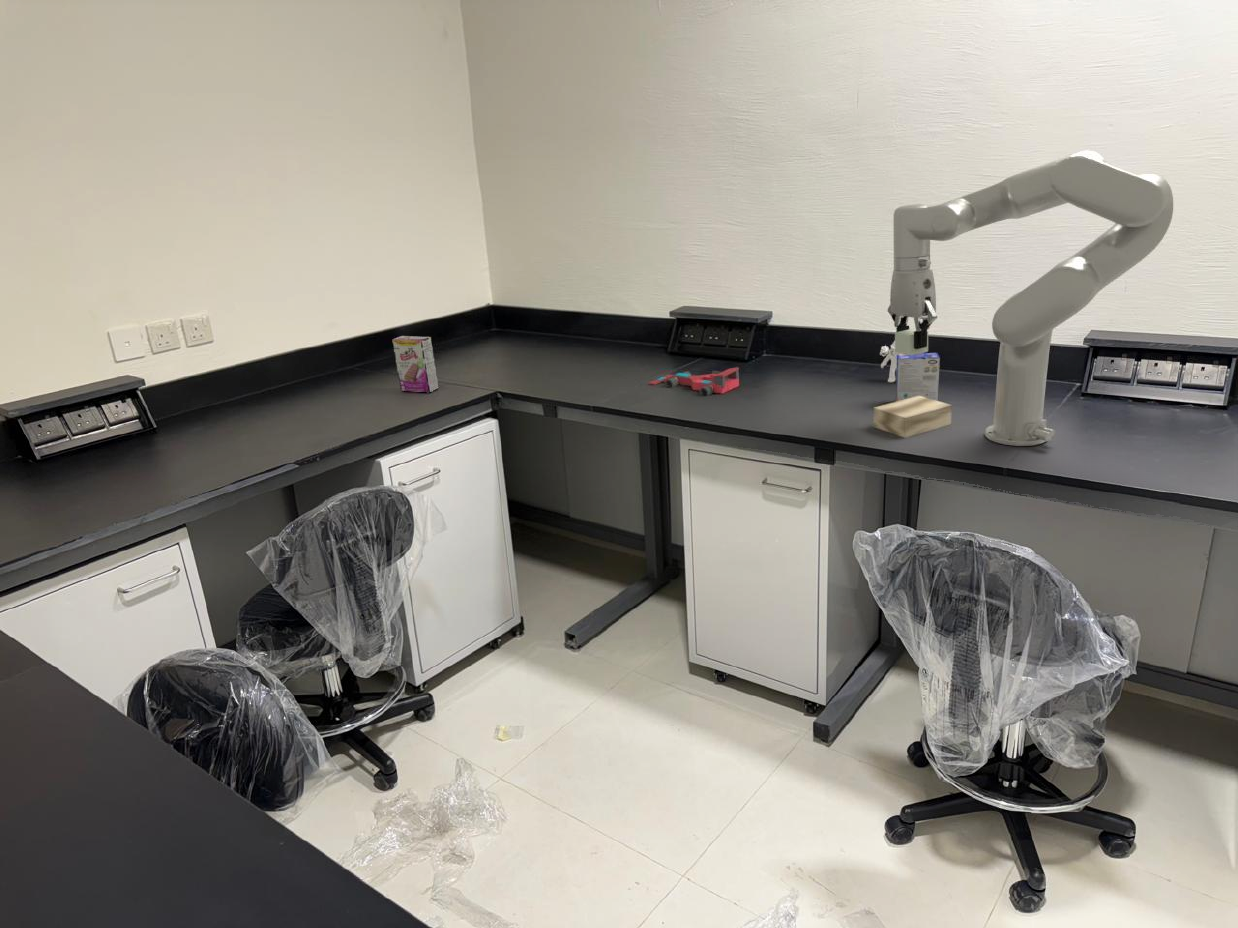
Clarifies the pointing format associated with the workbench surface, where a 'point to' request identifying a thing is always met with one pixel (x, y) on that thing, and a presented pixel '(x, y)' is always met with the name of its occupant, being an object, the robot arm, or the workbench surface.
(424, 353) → the candy bar box
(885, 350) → the hat wearing toy figure
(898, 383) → the ink cartridge box
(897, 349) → the sage cube
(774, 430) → the workbench surface
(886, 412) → the maple block
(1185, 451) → the workbench surface
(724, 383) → the race car
